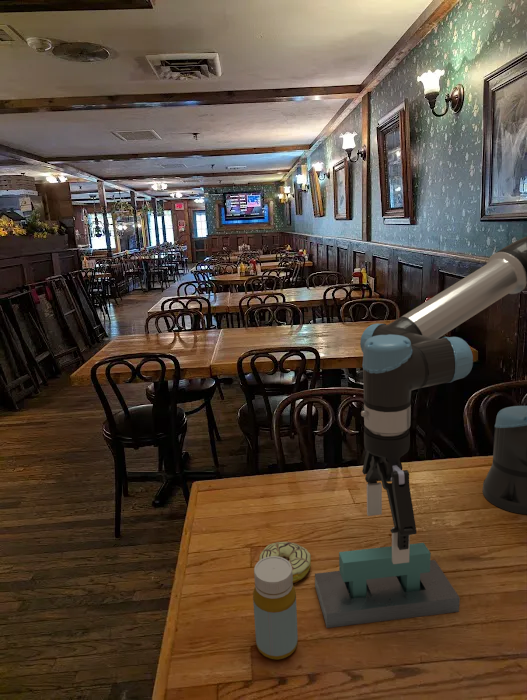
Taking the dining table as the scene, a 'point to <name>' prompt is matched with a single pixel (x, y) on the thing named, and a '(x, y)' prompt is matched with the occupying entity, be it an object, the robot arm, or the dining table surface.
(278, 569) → the bottle
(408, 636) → the dining table surface
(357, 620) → the slotted metal plate
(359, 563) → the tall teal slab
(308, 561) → the decorated donut
